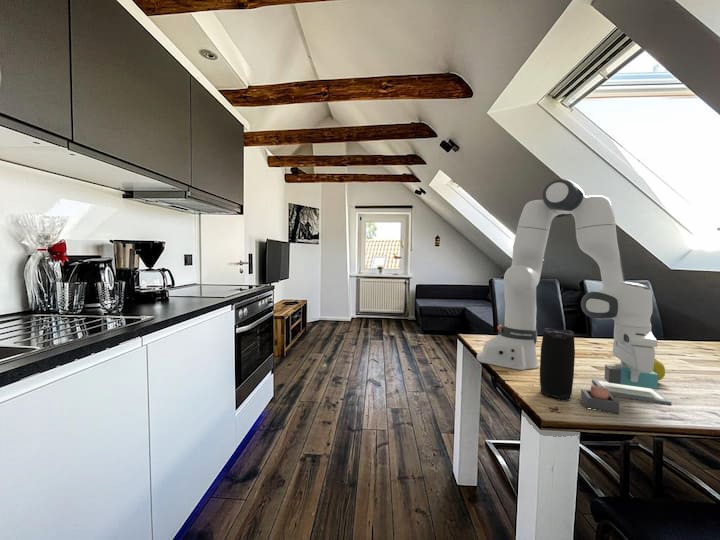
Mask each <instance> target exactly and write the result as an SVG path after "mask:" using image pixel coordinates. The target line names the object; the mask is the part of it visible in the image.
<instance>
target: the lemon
mask: <svg viewBox="0 0 720 540" xmlns="http://www.w3.org/2000/svg"><path fill="white" fill-rule="evenodd" d="M653 372H655V373H656V374H658V381H661V380H663V379H664V377H665V375H666V368H665V365H664V364H663V363H662V362H661V361H660V360H657V358H655V360H654V367H653Z"/></svg>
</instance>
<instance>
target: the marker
mask: <svg viewBox="0 0 720 540" xmlns="http://www.w3.org/2000/svg"><path fill="white" fill-rule="evenodd" d="M630 373H631V370H630V368H627V367H622V366H618V365H608V364H604V381H607V382H608V383H614V384H621V385H628V386H636V387H643V388H650V389H655V390H658V385H659V384H658V383H659V380H658V374H656V373H655V372H653V371H652V372H651V373H640V375H639V377H638V382H632V381H630V380H629V374H630Z"/></svg>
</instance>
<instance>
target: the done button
mask: <svg viewBox="0 0 720 540" xmlns="http://www.w3.org/2000/svg"><path fill="white" fill-rule="evenodd" d="M590 390H591V397H592V398H598V399H604V400H608V399H609V390H608V389H606V388H604V387H600V386H596V385H591V386H590Z"/></svg>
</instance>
